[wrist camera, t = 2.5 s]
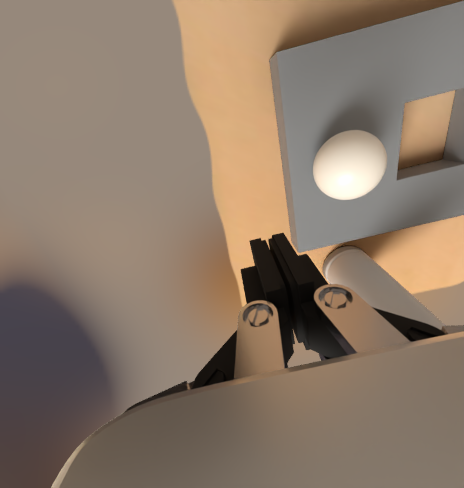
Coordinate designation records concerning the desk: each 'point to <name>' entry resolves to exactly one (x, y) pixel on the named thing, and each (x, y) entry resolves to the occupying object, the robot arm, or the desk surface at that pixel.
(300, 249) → the plate
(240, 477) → the robot arm
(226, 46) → the desk surface
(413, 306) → the travel mug
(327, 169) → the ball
